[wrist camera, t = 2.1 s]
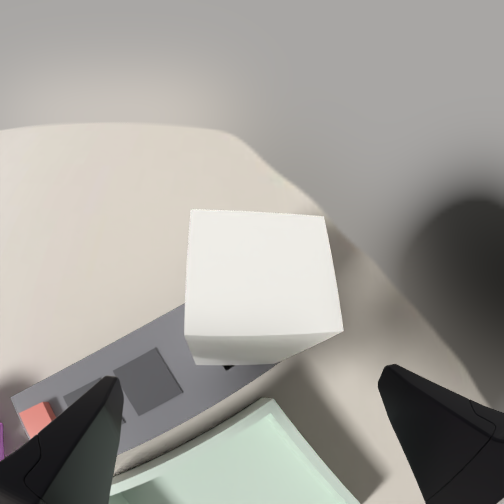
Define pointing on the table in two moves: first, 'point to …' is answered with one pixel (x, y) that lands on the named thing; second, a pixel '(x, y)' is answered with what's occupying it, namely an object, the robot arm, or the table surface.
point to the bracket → (1, 442)
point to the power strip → (139, 382)
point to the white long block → (258, 287)
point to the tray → (236, 467)
